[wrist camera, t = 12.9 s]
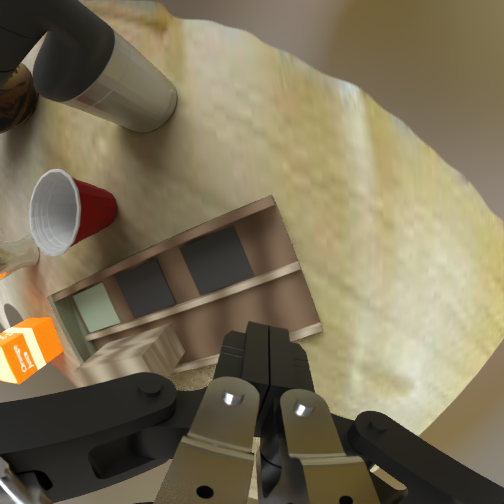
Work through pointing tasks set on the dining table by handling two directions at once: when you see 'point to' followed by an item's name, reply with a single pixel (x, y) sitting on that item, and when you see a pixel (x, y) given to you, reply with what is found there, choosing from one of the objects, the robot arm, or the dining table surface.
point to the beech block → (134, 356)
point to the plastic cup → (67, 211)
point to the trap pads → (199, 265)
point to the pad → (96, 308)
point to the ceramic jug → (17, 99)
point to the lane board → (209, 304)
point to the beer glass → (17, 255)
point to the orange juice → (27, 349)
